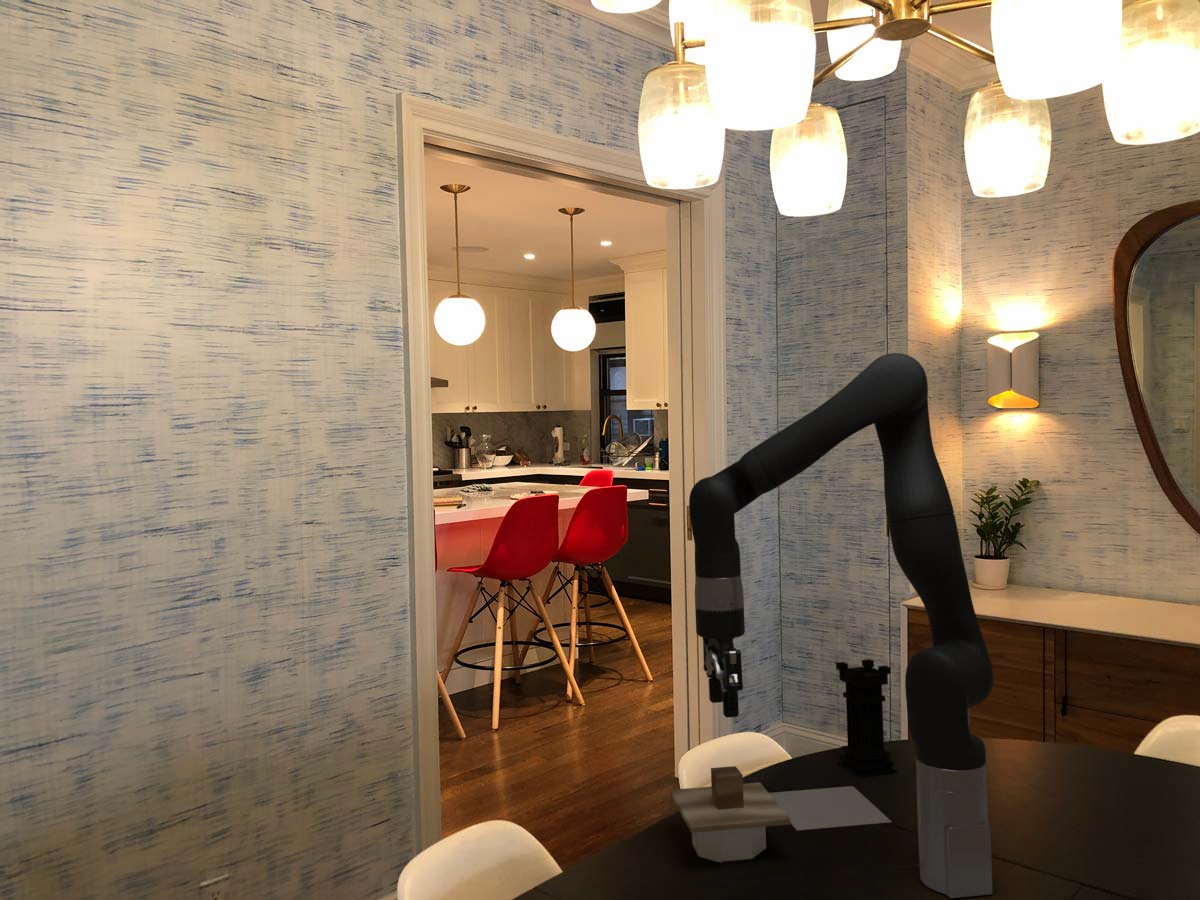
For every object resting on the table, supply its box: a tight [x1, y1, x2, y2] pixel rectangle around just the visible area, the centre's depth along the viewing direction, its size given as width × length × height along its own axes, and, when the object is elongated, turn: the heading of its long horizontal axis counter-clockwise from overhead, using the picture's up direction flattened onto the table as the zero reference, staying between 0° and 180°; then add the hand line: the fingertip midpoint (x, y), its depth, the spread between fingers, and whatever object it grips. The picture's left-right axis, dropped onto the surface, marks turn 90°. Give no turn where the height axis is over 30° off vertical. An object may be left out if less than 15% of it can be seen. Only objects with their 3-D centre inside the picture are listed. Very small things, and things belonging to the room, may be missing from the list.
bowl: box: [691, 826, 767, 864], centre depth 141 cm, size 11×11×6 cm
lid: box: [670, 765, 792, 834], centre depth 141 cm, size 15×15×6 cm
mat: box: [768, 785, 892, 831], centre depth 155 cm, size 16×16×1 cm
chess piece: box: [835, 658, 898, 779], centre depth 172 cm, size 8×8×20 cm
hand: (723, 709), depth 141 cm, fingers open, 8 cm apart
